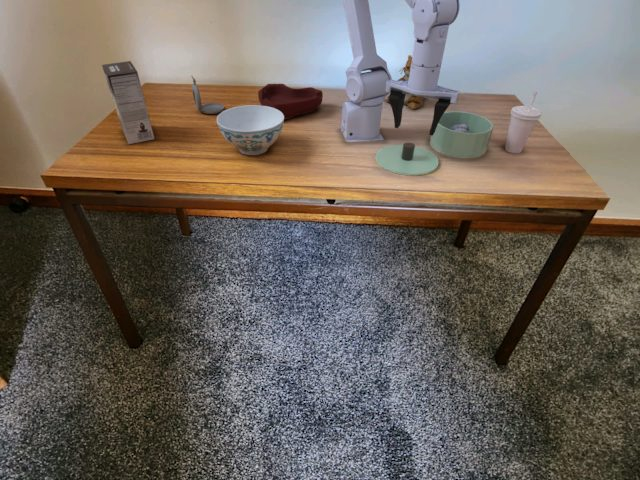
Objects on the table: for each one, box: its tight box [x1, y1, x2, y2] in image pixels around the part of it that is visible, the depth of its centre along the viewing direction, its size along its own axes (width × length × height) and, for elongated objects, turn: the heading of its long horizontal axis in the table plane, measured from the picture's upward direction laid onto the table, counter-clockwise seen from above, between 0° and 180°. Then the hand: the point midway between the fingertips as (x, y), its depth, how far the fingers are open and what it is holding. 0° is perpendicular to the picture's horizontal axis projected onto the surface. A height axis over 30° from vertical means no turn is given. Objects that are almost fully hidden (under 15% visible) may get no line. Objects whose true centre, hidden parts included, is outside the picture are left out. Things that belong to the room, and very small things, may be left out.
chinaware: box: [216, 104, 285, 156], centre depth 91 cm, size 15×15×8 cm
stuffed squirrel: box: [385, 54, 425, 111], centre depth 116 cm, size 10×14×13 cm
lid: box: [375, 142, 440, 177], centre depth 89 cm, size 14×14×4 cm
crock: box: [429, 110, 494, 159], centre depth 95 cm, size 13×13×6 cm
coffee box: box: [101, 60, 156, 145], centre depth 94 cm, size 9×6×16 cm
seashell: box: [450, 124, 469, 133], centre depth 95 cm, size 5×5×10 cm
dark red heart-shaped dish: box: [257, 83, 323, 121], centre depth 110 cm, size 18×16×5 cm
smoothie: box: [504, 91, 542, 154], centre depth 92 cm, size 6×6×14 cm
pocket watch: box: [191, 75, 225, 115], centre depth 108 cm, size 8×8×10 cm
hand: (414, 130), depth 86 cm, fingers open, 7 cm apart
